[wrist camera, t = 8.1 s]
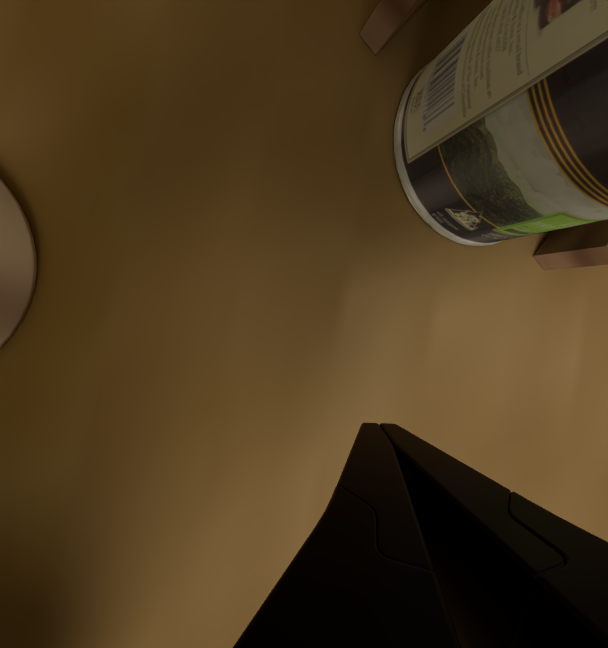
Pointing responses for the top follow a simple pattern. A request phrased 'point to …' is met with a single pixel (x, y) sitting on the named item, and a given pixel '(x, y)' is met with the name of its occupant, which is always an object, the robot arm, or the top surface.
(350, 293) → the top surface
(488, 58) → the coffee can
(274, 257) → the top surface
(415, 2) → the walnut holder
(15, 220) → the cork mat
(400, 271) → the top surface
